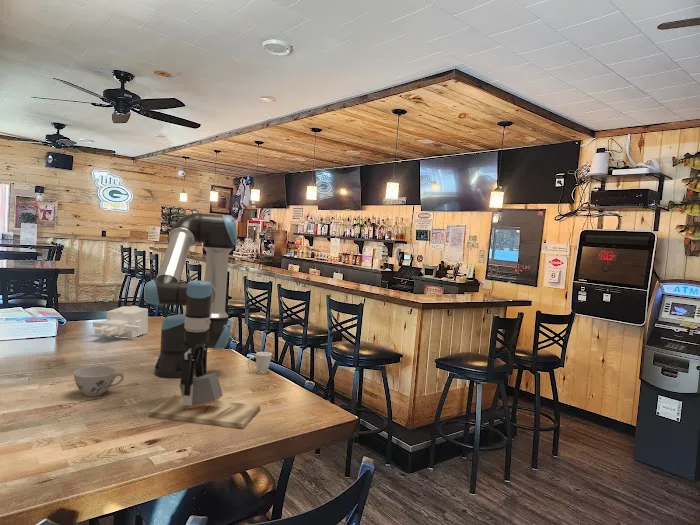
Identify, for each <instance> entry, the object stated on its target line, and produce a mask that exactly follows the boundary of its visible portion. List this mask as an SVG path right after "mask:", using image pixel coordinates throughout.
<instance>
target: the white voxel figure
mask: <svg viewBox="0 0 700 525" xmlns="http://www.w3.org/2000/svg"><path fill="white" fill-rule="evenodd" d="M148 326H149V309H148V308H147V307H146V308H144V307H139V305H138V306H137V305H131V306H125V305H124V306H120V307H118V308H114V309H111V310H108V311H106V321H98V320H96V321H93V322H92V327H93V328H95V329H94V334H95V335H102V334H103V335H104V336H107V335H110V336H119V337H127V338H133V337H136V336H139V335H141V336H143V335H145V334H147V333H148V332H149V329H148V328H149V327H148ZM142 334H143V335H142ZM139 337H140V336H139ZM136 338H137V337H136Z"/></svg>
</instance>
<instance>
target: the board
mask: <svg viewBox="0 0 700 525" xmlns="http://www.w3.org/2000/svg"><path fill="white" fill-rule="evenodd" d="M260 411H261V405H258V404H257V405H256V404H249V403H242V402H234V401H233V402H232V401H226V400H225V401H224V400H218V401H216V402H214V403H210V404H206V405H202V406H198V407H194V408H190V409H186V407H185V405H183V396H182V395H176V394H175V395H173V396H172V397H170V398H168V399H167V400H165V401H164V402H162V403H160V404H159V405H157V406H155V407H154V408H152V409H151V410H149V411H148V418H149V417H150V418H157V419H165V420H174V421H181V422H188V423H195V424H203V425H211V426H218V427H219V426H220V427H227V428H232V429H233V428H234V429H241V430H243V429H244V428H245V427H246V426H247V425H248V424H249V423H250V421H252V420H253V419H254V418H255V416H257V414H258V413H259V412H260Z"/></svg>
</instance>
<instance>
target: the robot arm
mask: <svg viewBox="0 0 700 525" xmlns="http://www.w3.org/2000/svg"><path fill="white" fill-rule="evenodd" d="M237 232H238V231H237V223H236V219H235V217H233V216H231V215H224V214H215V213H214V214H212V213H201V212H195V213H190V214H187V215H185V216H183V217H181V218H179V219H178V220H177V221H176V222H175V223H174V224H173V225H172V227H171V228H170V230H169V233H168V240H169V242H168V245H167V247H166V250H165V253H164V255H163V259H162V260H161V261H162V262H161V264H160V267H159V269H158V273H157V275H156V279H155V280H150V281H147V282H146V283H145V286H144V289H143V290H144V291H143V298H144V302H146V303H147V304H151V305H158V306H159V305H161V306H162V305H164V306H165V305H167V306H168V305H169V306H182V307H183V306H185V313H183V314H181V313H180V314H174V315H169V316H167V317H164V319H163V320H162V321H161V322H162V323H161V329H160V331H161V333H160V335H161V336H160V349H159V350H160V351H159V356H158V359H157V361H156V363H155V366H154V372H153V374H154V375H155V376H156V377H160V378H167V379H168V378H169V379H174V378H175V379H177V378H180V383H179V385H180V384H182V385H184V395H183V405H189V406H192V401H193V384H192V381H193V378H194V376H195V378H196V377H199V376H203V375H207V371H208V370H207V368H208V367H207V363H208V349H213V350H216V349H225V348H226V346H227V345H228V342H229V337H230V334H231V328H232V323H233V322H232V320H230V319H229V315H228V313H227V312H226V300H227V286H228V285H227V284H228V283H227V282H228V269H229V255H230V252H232V251H233V249H234V246H237V244H238V233H237ZM195 243H202V246H203V247H202V248H203V249H204V251H205V252H206V256H205V259H206V260H205V272H204V274H205V275H204V280H190V281H188V282H187V283H186V282H185V283H183V282H180V281H181V278H182V274H183V271H184V267H185V265H186V261H187V258H188V254H189V252H190V247H191V246H193V245H194V244H195ZM194 374H195V375H194Z"/></svg>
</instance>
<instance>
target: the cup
mask: <svg viewBox="0 0 700 525" xmlns="http://www.w3.org/2000/svg"><path fill="white" fill-rule="evenodd" d="M272 355H273V353H272V352H269V351H258V352H256V353H255V355H252V356H250V357H249V358H248V360H247V367H248V368H249V370H251V371H252V372H253V373H256V374H259V373H262V372H260V371H263V372H264V371H265V372H264V373H266V374H268V373H267V372H268V370H269V369H270V364H271V359H272ZM252 358H254V359H255V365H256V369H257V371H255V370H253V369H252V368H251V367H250V366H249V364H250V360H251V359H252Z"/></svg>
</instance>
